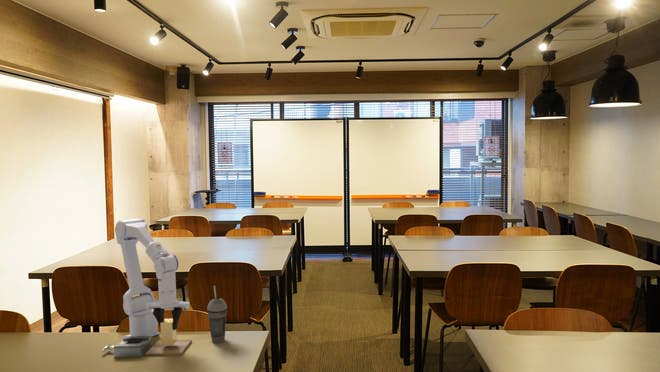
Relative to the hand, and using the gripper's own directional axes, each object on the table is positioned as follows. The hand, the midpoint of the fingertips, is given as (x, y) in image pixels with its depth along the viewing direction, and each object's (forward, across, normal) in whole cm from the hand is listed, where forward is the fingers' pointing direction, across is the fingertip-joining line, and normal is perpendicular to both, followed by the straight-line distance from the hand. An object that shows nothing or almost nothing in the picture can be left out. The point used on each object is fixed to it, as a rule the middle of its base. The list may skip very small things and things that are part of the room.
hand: (168, 329), depth 164 cm
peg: (+5, 0, 0) cm, 5 cm away
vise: (+7, -14, -2) cm, 16 cm away
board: (+7, 0, 0) cm, 7 cm away
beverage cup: (+7, +15, +7) cm, 18 cm away
